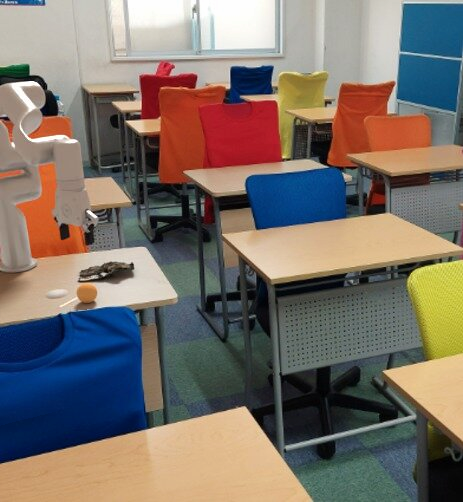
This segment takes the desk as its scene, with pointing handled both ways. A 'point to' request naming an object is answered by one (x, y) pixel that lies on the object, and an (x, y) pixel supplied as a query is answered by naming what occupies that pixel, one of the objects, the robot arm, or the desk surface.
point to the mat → (58, 295)
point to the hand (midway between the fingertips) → (77, 241)
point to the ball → (86, 292)
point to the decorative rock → (104, 270)
